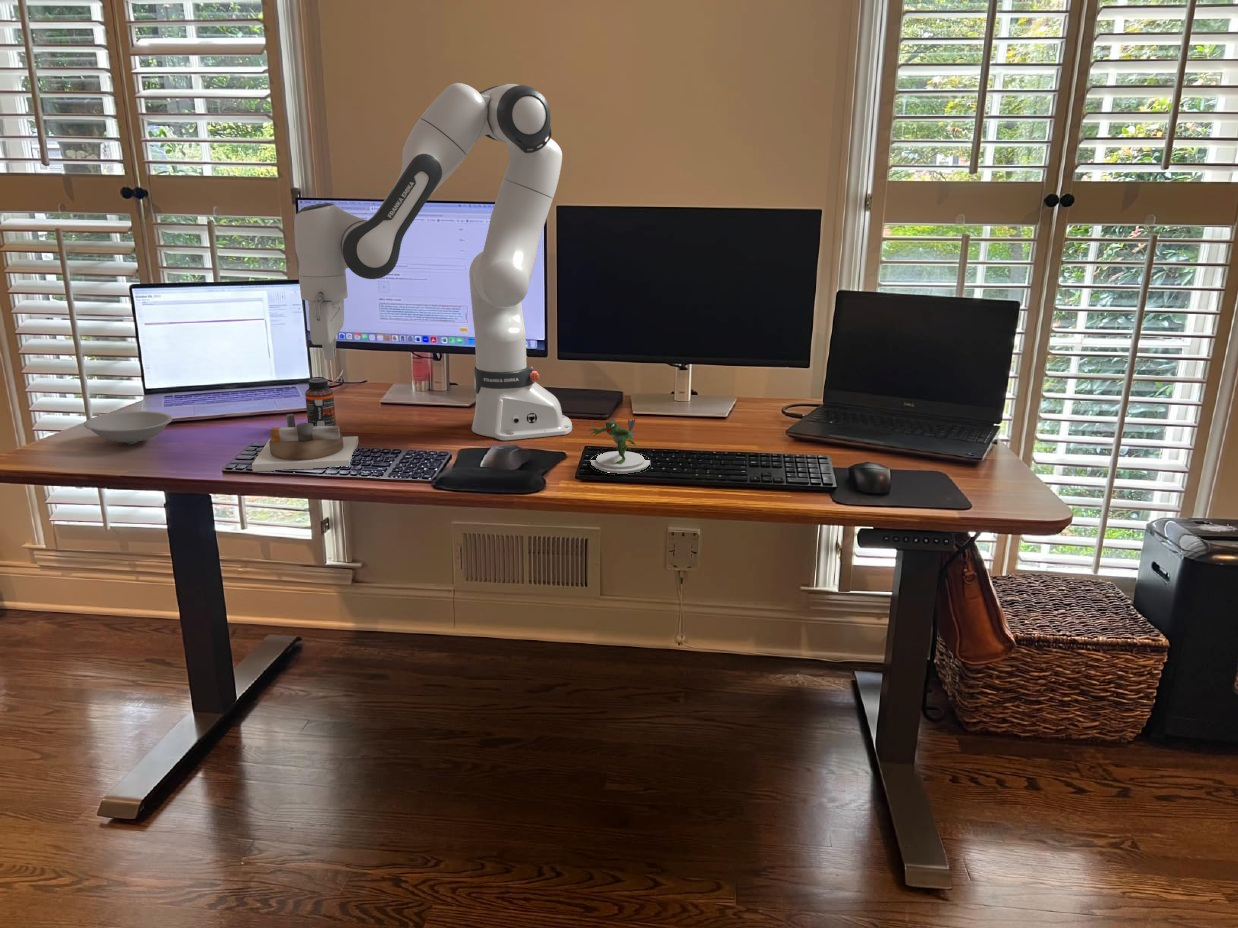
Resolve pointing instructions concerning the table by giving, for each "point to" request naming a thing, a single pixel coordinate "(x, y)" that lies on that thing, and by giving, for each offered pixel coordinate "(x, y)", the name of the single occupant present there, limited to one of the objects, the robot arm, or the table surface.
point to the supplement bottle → (320, 403)
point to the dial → (305, 441)
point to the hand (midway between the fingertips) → (330, 358)
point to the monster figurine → (619, 451)
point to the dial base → (337, 459)
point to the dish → (128, 425)
